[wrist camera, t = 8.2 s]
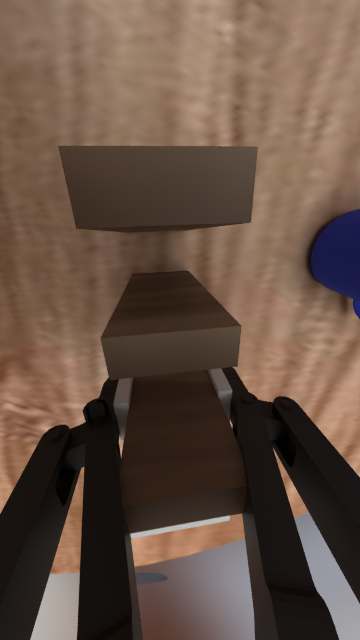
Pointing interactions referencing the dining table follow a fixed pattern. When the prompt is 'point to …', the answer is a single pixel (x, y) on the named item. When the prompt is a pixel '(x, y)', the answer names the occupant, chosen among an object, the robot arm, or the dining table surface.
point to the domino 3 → (179, 454)
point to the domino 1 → (159, 186)
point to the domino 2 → (168, 328)
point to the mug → (340, 257)
